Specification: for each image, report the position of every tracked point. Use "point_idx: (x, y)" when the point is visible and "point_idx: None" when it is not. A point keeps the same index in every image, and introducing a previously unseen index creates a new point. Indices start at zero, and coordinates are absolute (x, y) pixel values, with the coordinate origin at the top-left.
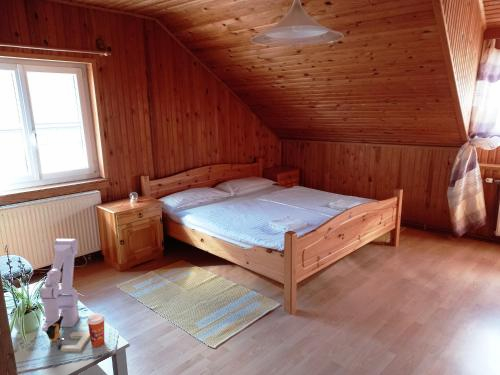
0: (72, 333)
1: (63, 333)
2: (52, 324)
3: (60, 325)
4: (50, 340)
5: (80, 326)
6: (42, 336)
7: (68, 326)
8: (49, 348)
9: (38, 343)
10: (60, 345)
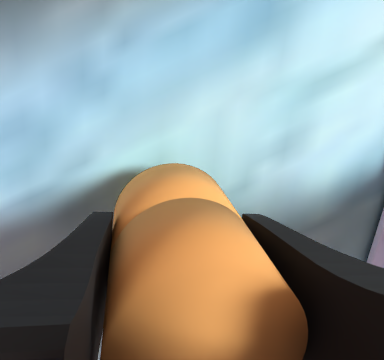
0: None
1: None
2: (273, 312)
3: None
4: (122, 190)
5: None
6: (261, 16)
7: (377, 237)
8: (22, 207)
9: (115, 26)
10: None
